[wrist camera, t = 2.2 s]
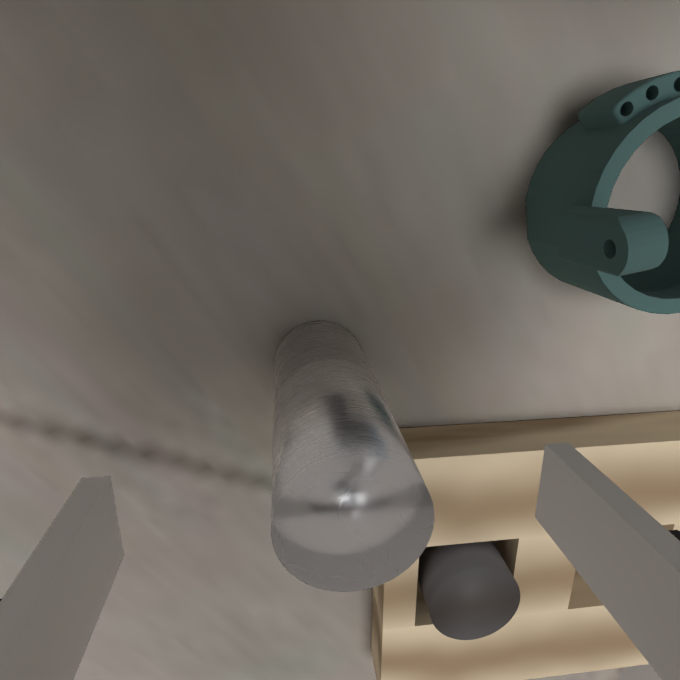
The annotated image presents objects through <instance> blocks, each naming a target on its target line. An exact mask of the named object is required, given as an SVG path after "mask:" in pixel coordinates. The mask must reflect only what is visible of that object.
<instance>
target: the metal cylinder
mask: <svg viewBox="0 0 680 680" xmlns="http://www.w3.org/2000/svg"><path fill="white" fill-rule="evenodd" d="M433 527H434V506H433V501H432V498H431V495H430V493H429V491H428V489H427V487H426V485H425V482H424V480H423V478H422V476H421V474H420V472H419V470H418V468H417V466H416V464H415V461H414V459H413V457H412V455H411V453H410V451H409V449H408V447H407V445H406V442H405V440H404V438H403V436H402V434H401V432H400V430H399V428H398V426H397V423H396V421H395V419H394V417H393V415H392V413H391V411H390V409H389V407H388V404H387V402H386V400H385V398H384V396H383V394H382V392H381V390H380V388H379V385H378V383H377V381H376V379H375V377H374V375H373V373H372V371H371V369H370V367H369V364H368V362H367V360H366V358H365V356H364V354H363V352H362V350H361V348H360V345H359V343H358V342H357V340H356V338H355V337H354V336H353V335H352V334H351V333H350V332H349V331H348V330H347V329H346V328H344V327H342V326H341V325H338V324H336V323H333V322H328V321H312V322H307V323H304V324H302V325H300V326H298V327H296V328H294V329H293V330H291V331H290V332H289V333H288V334H287V335H286V336H285V337H284V338H283V340H282V341H281V343H280V345H279V347H278V349H277V352H276V357H275V385H274V428H273V471H272V514H271V537H272V544H273V547H274V550H275V553H276V555H277V557H278V559H279V560H280V562H281V563H282V564H283V566H284V567H285V568H286V569H287V570H288V571H289V572H290V573H291V574H292V575H294V576H295V577H296V578H297V579H299V580H301V581H303V582H304V583H306V584H309V585H311V586H313V587H316V588H320V589H323V590H329V591H338V592H350V591H359V590H365V589H369V588H373V587H376V586H379V585H381V584H384V583H386V582H388V581H390V580H392V579H394V578H395V577H397V576H399V575H400V574H402V573H403V572H404V571H406V570H407V569H408V568H409V567H410V566H411V565H412V564H413V563H414V562H415V561H416V560H417V559H418V558H419V557H420V555H421V554H422V553H423V551H424V550H425V548H426V546H427V544H428V542H429V540H430V538H431V535H432V531H433Z"/></svg>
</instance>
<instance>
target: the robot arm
mask: <svg viewBox="0 0 680 680" xmlns="http://www.w3.org/2000/svg"><path fill="white" fill-rule="evenodd" d="M535 518H536V519H537V520H538V522H539V523H540V524H541V526H542V527H543V528H544V529H545V531H546V532H547V533H548V534H549V536H550V537H551V538H552V540H553V541H554V542H555V543H556V545H557V546H558V547H559V549H560V550H561V551H562V552H563V554H564V555H565V556H566V558H567V559H568V560H569V561H570V563H571V564H572V565H573V567H574V568H575V569H576V570H577V572H578V573H579V574H580V576H581V577H582V578H583V579H584V581H585V582H586V583H587V585H588V586H589V587H590V588H591V590H592V591H593V592H594V593H595V595H596V596H597V597H598V599H599V600H600V601H601V602H602V604H603V605H604V606H605V608H606V609H607V610H608V611H609V613H610V614H611V615H612V617H613V618H614V619H615V620H616V622H617V623H618V624H619V626H620V627H621V628H622V629H623V631H624V632H625V633H626V635H627V636H628V637H629V638H630V640H631V641H632V642H633V644H634V645H635V646H636V647H637V649H638V650H639V651H640V653H641V654H642V655H643V656H644V658H645V659H646V660H647V661H648V663H649V664H650V665H651V667H652V668H653V669H654V670H655V672H656V673H657V674H658V676H659V677H660V678H661V679H662V680H680V531H678V530H669V531H668V530H667V529H666V528H665V527H663V526H662V525H661V524H660V523H659V522H658V521H657V520H655V519H654V518H653V517H652V516H651V515H650V514H649V513H648V512H646V511H645V510H644V509H643V508H642V507H641V506H640V505H638V504H637V503H636V502H635V501H634V500H633V499H632V498H631V497H629V496H628V495H627V494H626V493H625V492H624V491H623V490H621V489H620V488H619V487H618V486H617V485H616V484H615V483H614V482H612V481H611V480H610V479H609V478H608V477H607V476H606V475H604V474H603V473H602V472H601V471H600V470H599V469H598V468H597V467H595V466H594V465H593V464H592V463H591V462H590V461H589V460H587V459H586V458H585V457H584V456H583V455H582V454H581V453H580V452H578V451H577V450H576V449H575V448H574V447H573V446H572V445H570V444H569V443H568V442H564V443H551V444H545V449H544V456H543V463H542V470H541V477H540V484H539V491H538V498H537V505H536V511H535ZM123 557H124V551H123V546H122V540H121V534H120V529H119V523H118V517H117V512H116V506H115V501H114V495H113V489H112V484H111V478H110V476H105V477H91V478H81V480H80V482H79V483H78V485H77V486H76V488H75V489H74V491H73V492H72V494H71V495H70V497H69V498H68V500H67V501H66V503H65V504H64V506H63V507H62V509H61V510H60V512H59V513H58V515H57V516H56V518H55V519H54V521H53V522H52V524H51V525H50V527H49V528H48V530H47V532H46V533H45V535H44V536H43V538H42V539H41V541H40V542H39V544H38V545H37V547H36V548H35V550H34V551H33V553H32V554H31V556H30V557H29V559H28V560H27V562H26V563H25V565H24V566H23V568H22V569H21V571H20V572H19V574H18V575H17V577H16V579H15V580H14V582H13V583H12V585H11V586H10V588H9V589H8V591H7V592H6V594H5V595H4V597H3V598H2V599H0V680H73V679H74V677H75V674H76V672H77V669H78V667H79V664H80V662H81V659H82V657H83V655H84V652H85V650H86V647H87V645H88V642H89V640H90V637H91V635H92V633H93V630H94V628H95V625H96V623H97V620H98V618H99V615H100V613H101V610H102V608H103V606H104V603H105V601H106V598H107V596H108V593H109V591H110V588H111V586H112V584H113V581H114V579H115V576H116V574H117V571H118V569H119V566H120V564H121V562H122V559H123Z"/></svg>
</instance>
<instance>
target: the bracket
mask: <svg viewBox="0 0 680 680" xmlns="http://www.w3.org/2000/svg"><path fill="white" fill-rule="evenodd" d="M578 118H579V120H580V121H579V122H577V123H576V124H574V125H573V126H571V127H570V128H568V129H567V130H566V131H565V132H564V133H563V134H561V135H560V136H559V137H558V138H557V139H556V140H555V141H554V143H553V144H552V145H551V146H550V147H549V149H548V150H547V151H546V152H545V154H544V155H543V157H542V159H541V160H540V162H539V164H538V165H537V167H536V169H535V172H534V174H533V176H532V179H531V181H530V184H529V188H528V192H527V196H526V214H527V236H528V241H529V244H530V246H531V249H532V252H533V253H534V255H535V257H536V258H537V260H538V261H539V263H540V264H541V265H542V266H543V267H544V268H545V269H546V270H547V271H548V272H549V273H550V274H551V275H553V276H554V277H556V278H557V279H559V280H561V281H563V282H566V283H568V284H571V285H574V286H576V287H579V288H582V289H584V290H587V291H590V292H592V293H595V294H598V295H600V296H603V297H605V298H608V299H611V300H613V301H616V302H619V303H621V304H624V305H627V306H629V307H632V308H635V309H637V310H641V311H645V312H649V313H657V314H672V313H680V196H679V203H678V207H677V210H676V213H675V216H674V219H673V221H672V223H671V225H670V227H669V229H668V232H667V229H666V226H665V224H664V222H663V220H662V219H661V218H660V217H659V216H657V215H656V214H653V213H650V212H643V211H633V210H623V209H612V208H607V205H608V202H609V199H610V195H611V192H612V189H613V186H614V184H615V182H616V180H617V178H618V176H619V174H620V172H621V170H622V168H623V167H624V165H625V164H626V162H627V161H628V160H629V158H630V157H631V155H632V154H633V152H634V151H635V150H636V149H637V148H638V147H639V146H640V145H641V144H642V143H643V142H644V141H645V140H646V139H647V138H648V137H649V136H650V135H652V134H653V133H654V132H655V131H657V130H658V131H660V132H661V133H662V134H663V135H664V136H665V138H666V139H667V140H668V142H669V143H670V145H671V146H672V148H673V150H674V153H675V155H676V157H677V160H678V165H679V170H680V71H675V72H670V73H666V74H663V75H659V76H655V77H651V78H647V79H644V80H640V81H636V82H632V83H629V84H625V85H623V86H620V87H617V88H614V89H612V90H610V91H608V92H606V93H605V94H603V95H601V96H599V97H597V98H596V99H595V100H593V101H592V102H591V103H589V104H588V105H587V106H586V107H584V108H583V109H582V110H581V111H580V112H579V113H578Z"/></svg>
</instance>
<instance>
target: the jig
mask: <svg viewBox="0 0 680 680" xmlns="http://www.w3.org/2000/svg"><path fill="white" fill-rule="evenodd" d="M399 430H400V432H401V434H402V436H403V438H404V440H405V442H406V445H407V447H408V449H409V451H410V453H411V455H412V457H413V459H414V461H415V464H416V466H417V468H418V470H419V472H420V474H421V476H422V478H423V480H424V482H425V485H426V487H427V489H428V491H429V493H430V495H431V498H432V501H433V506H434V527H433V531H432V535H431V538H430V540H429V542H428V544H427V546H426V548H425V550H424V551H423V553H422V554H421V555H420V557H419V558H418V559H417V560H416V561H415V562H414V563H413V564H412V565H411V566H410V567H409V568H408V569H407V570H406V571H404V572H403V573H402V574H400V575H399V576H397V577H395V578H394V579H392V580H390V581H388V582H386V583H384V584H381V585H379V586H376V587H373V592H372V634H371V652H372V658H373V663H374V668H375V673H376V678H377V680H526V679H534V678H542V677H550V676H557V675H565V674H573V673H581V672H589V671H597V670H605V669H613V668H621V667H628V666H636V665H643V664H649V663H648V661H647V660H646V659H645V658H644V656H643V655H642V654H641V653H640V651H639V650H638V649H637V647H636V646H635V645H634V644H633V642H632V641H631V640H630V638H629V637H628V636H627V635H626V633H625V632H624V631H623V629H622V628H621V627H620V626H619V624H618V623H617V622H616V620H615V619H614V618H613V617H612V615H611V614H610V613H609V611H608V610H607V609H606V608H605V606H604V605H603V604H602V602H601V601H600V600H599V599H598V597H597V596H596V595H595V593H594V592H593V591H592V590H591V588H590V587H589V586H588V585H587V583H586V582H585V581H584V579H583V578H582V577H581V576H580V574H579V573H578V572H577V570H576V569H575V568H574V567H573V565H572V564H571V563H570V561H569V560H568V559H567V558H566V556H565V555H564V554H563V552H562V551H561V550H560V549H559V547H558V546H557V545H556V543H555V542H554V541H553V540H552V538H551V537H550V536H549V534H548V533H547V532H546V531H545V529H544V528H543V527H542V526H541V524H540V523H539V522H538V520H537V519H536V518H535V511H536V505H537V498H538V491H539V484H540V477H541V470H542V463H543V456H544V449H545V444H551V443H564V442H568V443H569V444H570V445H572V446H573V447H574V448H575V449H576V450H577V451H578V452H580V453H581V454H582V455H583V456H584V457H585V458H586V459H587V460H589V461H590V462H591V463H592V464H593V465H594V466H595V467H597V468H598V469H599V470H600V471H601V472H602V473H603V474H604V475H606V476H607V477H608V478H609V479H610V480H611V481H612V482H614V483H615V484H616V485H617V486H618V487H619V488H620V489H621V490H623V491H624V492H625V493H626V494H627V495H628V496H629V497H631V498H632V499H633V500H634V501H635V502H636V503H637V504H638V505H640V506H641V507H642V508H643V509H644V510H645V511H646V512H648V513H649V514H650V515H651V516H652V517H653V518H654V519H655V520H657V521H658V522H659V523H660V524H661V525H662V526H663V527H665V528H666V529H667V530H668V531H669V530H678V531H680V411H667V412H651V413H635V414H619V415H604V416H588V417H572V418H556V419H540V420H525V421H509V422H493V423H477V424H461V425H446V426H430V427H414V428H399Z"/></svg>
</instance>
